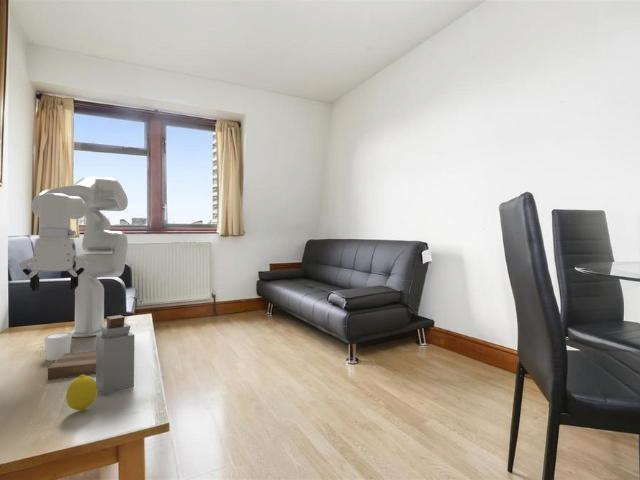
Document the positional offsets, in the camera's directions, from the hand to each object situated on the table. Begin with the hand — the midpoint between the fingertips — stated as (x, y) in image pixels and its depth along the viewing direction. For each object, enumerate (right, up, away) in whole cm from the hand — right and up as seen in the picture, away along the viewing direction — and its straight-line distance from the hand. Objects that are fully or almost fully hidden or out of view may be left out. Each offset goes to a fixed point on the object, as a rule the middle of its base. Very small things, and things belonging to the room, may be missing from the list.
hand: (54, 289), depth 102 cm
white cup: (-2, -22, +3) cm, 23 cm away
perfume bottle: (+29, -23, -17) cm, 41 cm away
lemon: (+29, -23, -29) cm, 47 cm away
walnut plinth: (+12, -22, -6) cm, 26 cm away
